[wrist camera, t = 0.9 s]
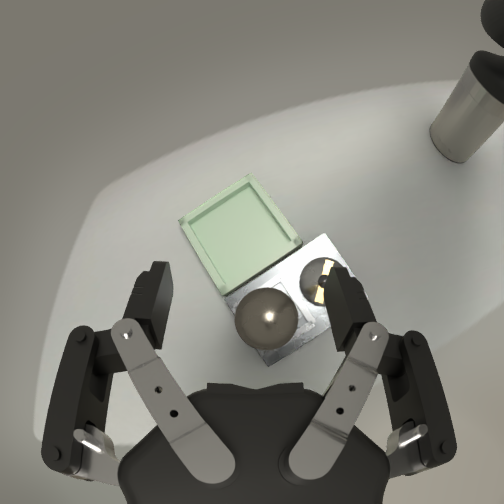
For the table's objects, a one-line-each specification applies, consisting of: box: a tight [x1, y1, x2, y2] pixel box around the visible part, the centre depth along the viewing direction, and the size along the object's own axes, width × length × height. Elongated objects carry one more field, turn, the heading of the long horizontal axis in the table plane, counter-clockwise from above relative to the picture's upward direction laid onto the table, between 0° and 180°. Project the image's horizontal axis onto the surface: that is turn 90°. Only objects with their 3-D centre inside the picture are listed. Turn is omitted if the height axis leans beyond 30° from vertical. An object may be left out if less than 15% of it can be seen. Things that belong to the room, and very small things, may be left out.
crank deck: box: [225, 233, 369, 367], centre depth 33 cm, size 15×10×3 cm, turn 123°
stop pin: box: [235, 287, 298, 350], centre depth 27 cm, size 5×5×13 cm
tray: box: [178, 173, 303, 296], centre depth 36 cm, size 12×12×2 cm
